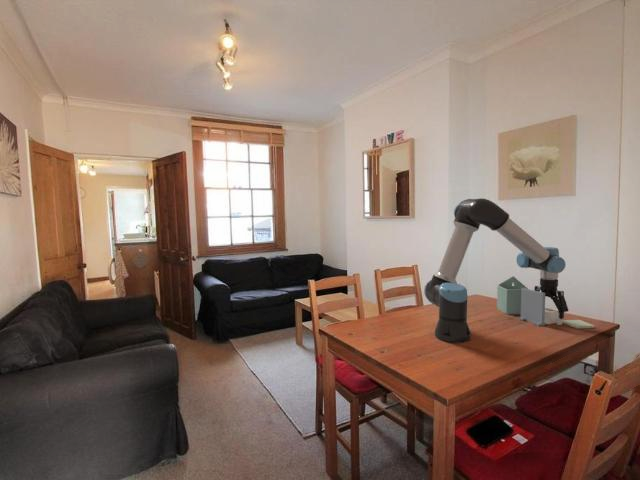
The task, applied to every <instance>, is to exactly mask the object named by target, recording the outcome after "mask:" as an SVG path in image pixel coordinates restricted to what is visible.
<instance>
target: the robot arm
mask: <svg viewBox="0 0 640 480" xmlns="http://www.w3.org/2000/svg"><path fill="white" fill-rule="evenodd" d="M453 215H454V220H453V225H454V230H453V232H452V235H451V238H450V239H449V243H448V245H447V248H446V249H445V253H444V256H443V258H442V261H441V264H440V266H439V269H438V272H436V273H434V274H433V275H432V277H431V279H430V280H428V281H427V282H426V283H425V285H424V289H423V292H424V294H423V295H424V296H425V297H426V300H427V301H428V302H429V303H431V305H435V306H436V307H438V321H437V323H436V326H435V329H434V336H435V337H436V338H437V339H439V340H441V341H444V342H448V343H456V344H457V343H460V344H461V343H467V342H469V341H471V340H472V338H471V337H472V333H471V330H470V327H469V323H468V297H469V296H468V289H467V288H466V287H465V286H464V285H462V284H460V283H458V282H457V276H458V274H459V271H460V268H461V266H462V263H463V261H464V258H465V255H466V254H467V253H466V252H467V250H468V248H469V246H470V245H469V244H470V242H471V240H472V238H473V235H474V233H475V232H477V231H479V229H480V226H481V225H482V226H485V227H487V228H489V230H491V231H494V232H498V233H499V235H501V236H502V237H503V238H505V240H507V241H508V242H509V243H510V244H512V245H513V246H514V247H515V248H517V249H518V250H519V251H520V253H518V254H517V255H516V261H515V262H516V264H517V266H518V267H519V268H521V269H522V268H525V269H529V268H530V269H535V270H539V277H540V278H539V285H535V286H534V291H538V292H542V293H545V297H547V298H550V299H551V301H552V302H553V303H554V305H555V307H556V309H557V311H558V312H557V323H556V326H561V325H563V323H562V320H564V318H565V313H566V312H569V310H570V309H569V307H568V304H567V301H566V299H565V292H564V290H558V286H559V274H560V273H562V272H563V271H564V270H565V268H566V265H567V264H566V261H565V259H564V258H563V257H560V250H559V248H558V247H553V246H552V247H551V246H543V245H542V244H540V243H539V241H537V240H536V239H535V238H534V237H532V235H530V234H529V233H528V232H527V231H525V230H524V229H523V228H522V227H521V226H520V225H519V224H517V223H516V222H515V221H513V220H512V219H511V218H510V214H509V213H508V212H506V210H504V208H501V206H499V205H498V204H497V203H495V202H493V201H491V200H490V199H487V198H467V199H464V200H461V201H460V202H458V203H457V204H456V206H455V207H454V209H453Z"/></svg>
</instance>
